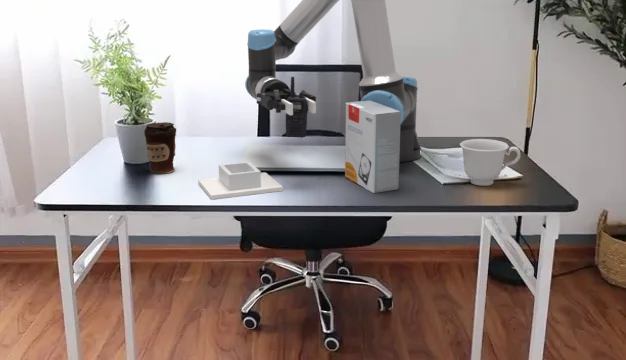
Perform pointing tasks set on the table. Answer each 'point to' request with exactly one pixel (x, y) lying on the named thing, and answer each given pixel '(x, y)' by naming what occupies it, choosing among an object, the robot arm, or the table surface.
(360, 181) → the hard drive box
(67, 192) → the table surface
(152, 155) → the coffee cup
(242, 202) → the table surface
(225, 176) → the charging cradle
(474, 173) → the teacup
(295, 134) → the two-way radio
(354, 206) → the table surface
